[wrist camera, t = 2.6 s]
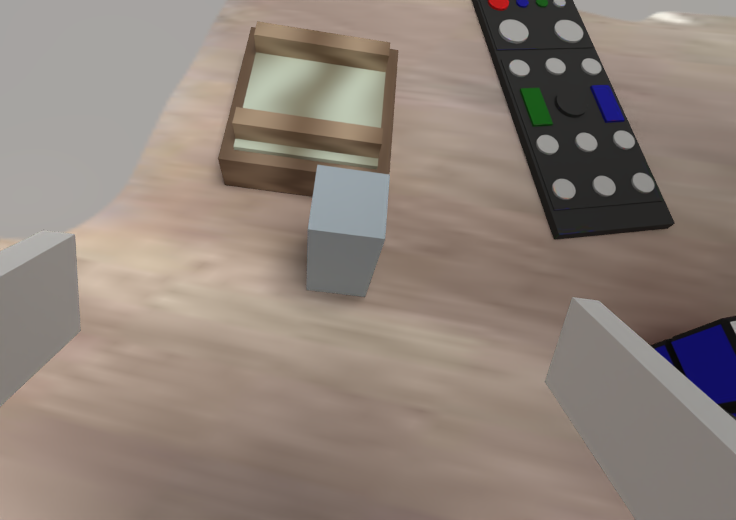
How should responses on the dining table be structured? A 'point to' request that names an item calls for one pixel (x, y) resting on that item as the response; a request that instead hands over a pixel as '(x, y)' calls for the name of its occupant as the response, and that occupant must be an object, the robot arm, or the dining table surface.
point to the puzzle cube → (707, 359)
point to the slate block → (345, 229)
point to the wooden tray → (308, 108)
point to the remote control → (570, 121)
